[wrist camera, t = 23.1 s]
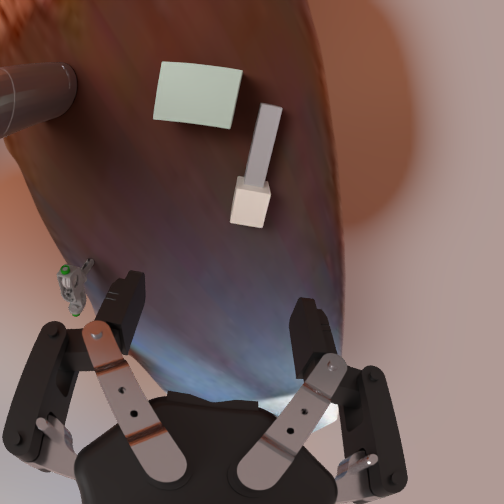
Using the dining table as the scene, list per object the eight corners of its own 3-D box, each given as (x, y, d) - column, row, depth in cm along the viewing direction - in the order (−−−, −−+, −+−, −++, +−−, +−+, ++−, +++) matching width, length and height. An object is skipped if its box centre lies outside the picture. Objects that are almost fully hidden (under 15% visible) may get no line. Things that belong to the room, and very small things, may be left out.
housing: (175, 64, 30) (162, 61, 25) (243, 72, 31) (242, 70, 26) (167, 113, 34) (153, 119, 28) (232, 121, 35) (229, 129, 30)
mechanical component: (87, 280, 49) (67, 315, 41) (81, 236, 44) (54, 270, 36) (100, 283, 50) (81, 319, 42) (94, 239, 44) (69, 274, 36)
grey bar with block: (253, 100, 33) (254, 103, 29) (286, 107, 34) (292, 111, 30) (230, 214, 43) (228, 230, 39) (258, 219, 43) (260, 235, 39)
